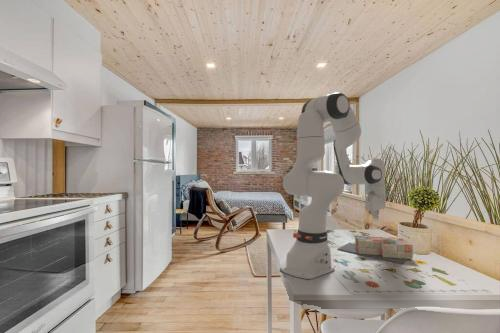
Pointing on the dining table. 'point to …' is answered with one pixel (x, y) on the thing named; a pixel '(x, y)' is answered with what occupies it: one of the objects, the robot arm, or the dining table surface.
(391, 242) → the stack of blocks
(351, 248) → the charcoal rubber mat
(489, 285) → the dining table surface
